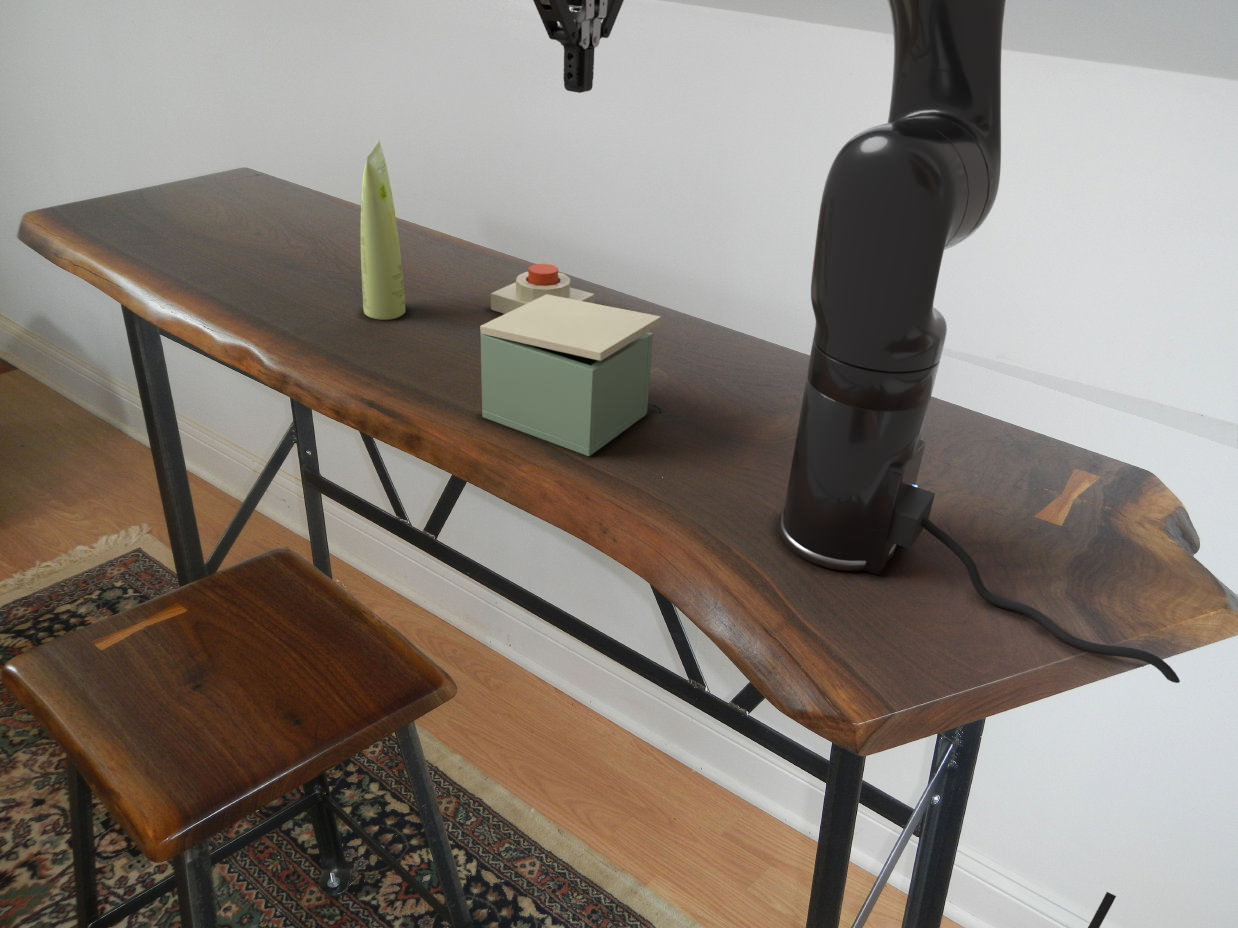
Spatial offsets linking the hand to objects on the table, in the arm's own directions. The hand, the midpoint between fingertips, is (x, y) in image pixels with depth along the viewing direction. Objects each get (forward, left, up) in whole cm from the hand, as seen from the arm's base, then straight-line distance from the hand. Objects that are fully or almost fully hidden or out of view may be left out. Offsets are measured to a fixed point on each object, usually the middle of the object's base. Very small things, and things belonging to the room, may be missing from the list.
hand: (578, 90), depth 88 cm
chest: (-5, +8, -29) cm, 30 cm away
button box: (+13, -13, -29) cm, 34 cm away
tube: (+27, 0, -29) cm, 40 cm away
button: (+13, -13, -25) cm, 31 cm away
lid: (-5, +8, -20) cm, 22 cm away
